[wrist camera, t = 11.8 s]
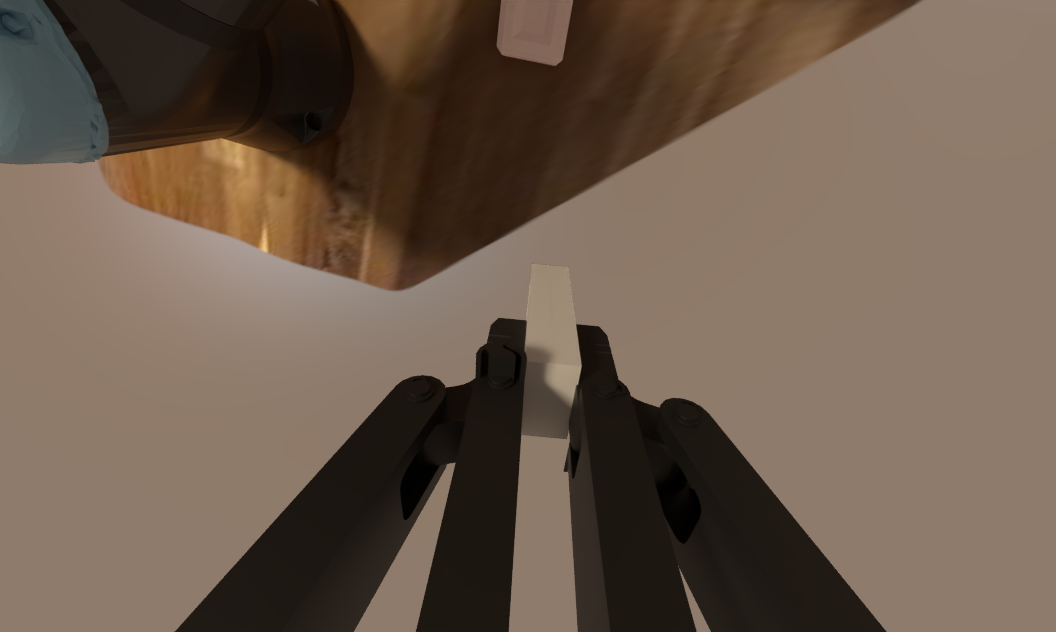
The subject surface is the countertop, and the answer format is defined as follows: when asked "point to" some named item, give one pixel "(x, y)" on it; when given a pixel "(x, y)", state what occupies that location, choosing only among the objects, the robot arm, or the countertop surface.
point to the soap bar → (534, 29)
